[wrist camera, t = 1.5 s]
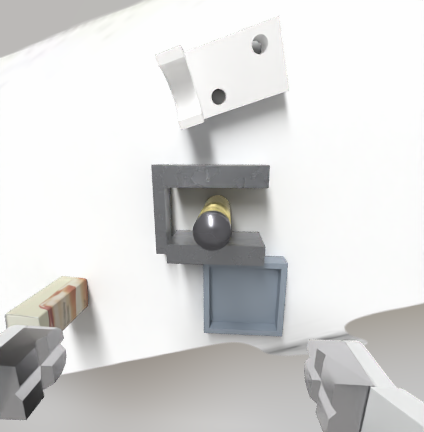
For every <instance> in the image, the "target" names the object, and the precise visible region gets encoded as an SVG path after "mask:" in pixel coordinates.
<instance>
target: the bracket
mask: <svg viewBox="0 0 424 432" xmlns="http://www.w3.org/2000/svg"><path fill="white" fill-rule="evenodd" d="M252 41H258V42H259V43H260V44H261V48H262V50H261V54H256V53H255V52H254V51H253V49H252ZM155 57H156V60H157V62H158V65H159V67H160V68H161V70H162V71H163V73H164V75H165V77H166V80H167V82H168V84H169V87H170V90H171V92H172V95H173V98H174V101H175V105H176V108H177V112H178V118H179V120H178V122H179V125H180V128H181V130H183V129H186V128H189V127H192V126H195V125H198V124H201V123H204V119H206V118H209V117H212V116H215V115H218V114H221V113H224V112H227V111H229V110H232V109H235V108H238V107H241V106H244V105H247V104H250V103H253V102H256V101H259V100H262V99H265V98H268V97H271V96H274V95H277V94H280V93H283V92H286V91H289V85H288V78H287V71H286V64H285V56H284V49H283V42H282V35H281V27H280V20H279V16H278V17H275V18H272V19H270V20H267V21H264V22H262V23H259V24H256V25H254V26H251V27H249V28H246V29H243V30H241V31H238V32H235V33H233V34H230V35H227V36H225V37H222V38H220V39H217V40H214V41H212V42H209V43H206V44H204V45H201V46H199V47H196V48H193V49H191V50H188V51H185V52H184V50H183V49H182V47H181V45H179V46H177V47H174V48H172V49H169V50H166V51H164V52H161V53H158V54H156V55H155ZM215 89H221V90H222V91H223V92H224V93H225V100H224V101H223V103H221V104H215V103H214V102H213V101H212V98H211V96H212V93H213V91H214V90H215Z"/></svg>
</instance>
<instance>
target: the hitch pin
mask: <svg viewBox="0 0 424 432" xmlns="http://www.w3.org/2000/svg"><path fill="white" fill-rule="evenodd" d="M193 237H194V240H195V242H196V243H197V244H198V245H199V246H200V247H201V248H203V249H205V250H209V251H216V250H219V249H222V248H223V247H225V246H226V245H227V244H228V242H229V240H230V238H231V217H230V204H229V202H228V200H227V199H226V198H225V197H223V196H221V195H214V196H211V197H210V198H209V199H208V200H207V201H206V203H205V205H204V207H203V209H202V211H201V213H200V215H199V216H198V218H197V220H196V222H195V224H194V227H193Z"/></svg>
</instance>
